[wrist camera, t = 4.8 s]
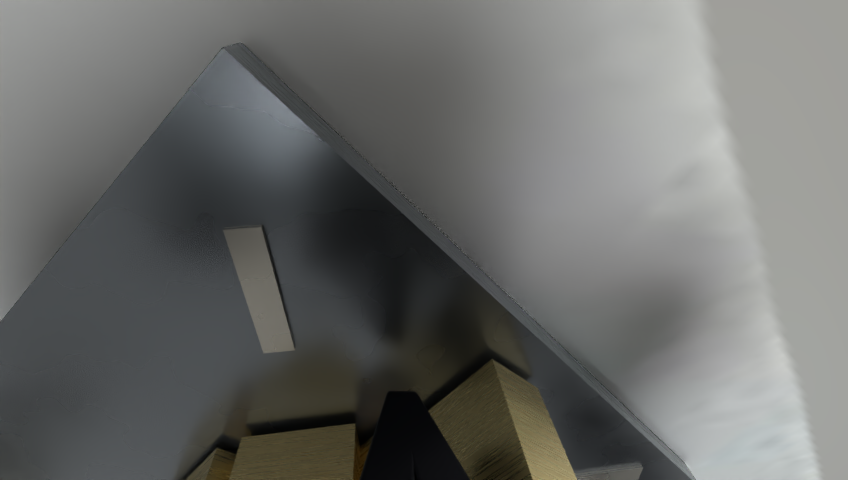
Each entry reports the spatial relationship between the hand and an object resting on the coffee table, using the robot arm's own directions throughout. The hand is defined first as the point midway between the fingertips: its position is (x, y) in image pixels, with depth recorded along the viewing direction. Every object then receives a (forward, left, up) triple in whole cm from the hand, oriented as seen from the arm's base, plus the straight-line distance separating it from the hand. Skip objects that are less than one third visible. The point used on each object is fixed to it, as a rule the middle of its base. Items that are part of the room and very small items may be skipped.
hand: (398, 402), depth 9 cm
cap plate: (-3, +6, -2) cm, 7 cm away
